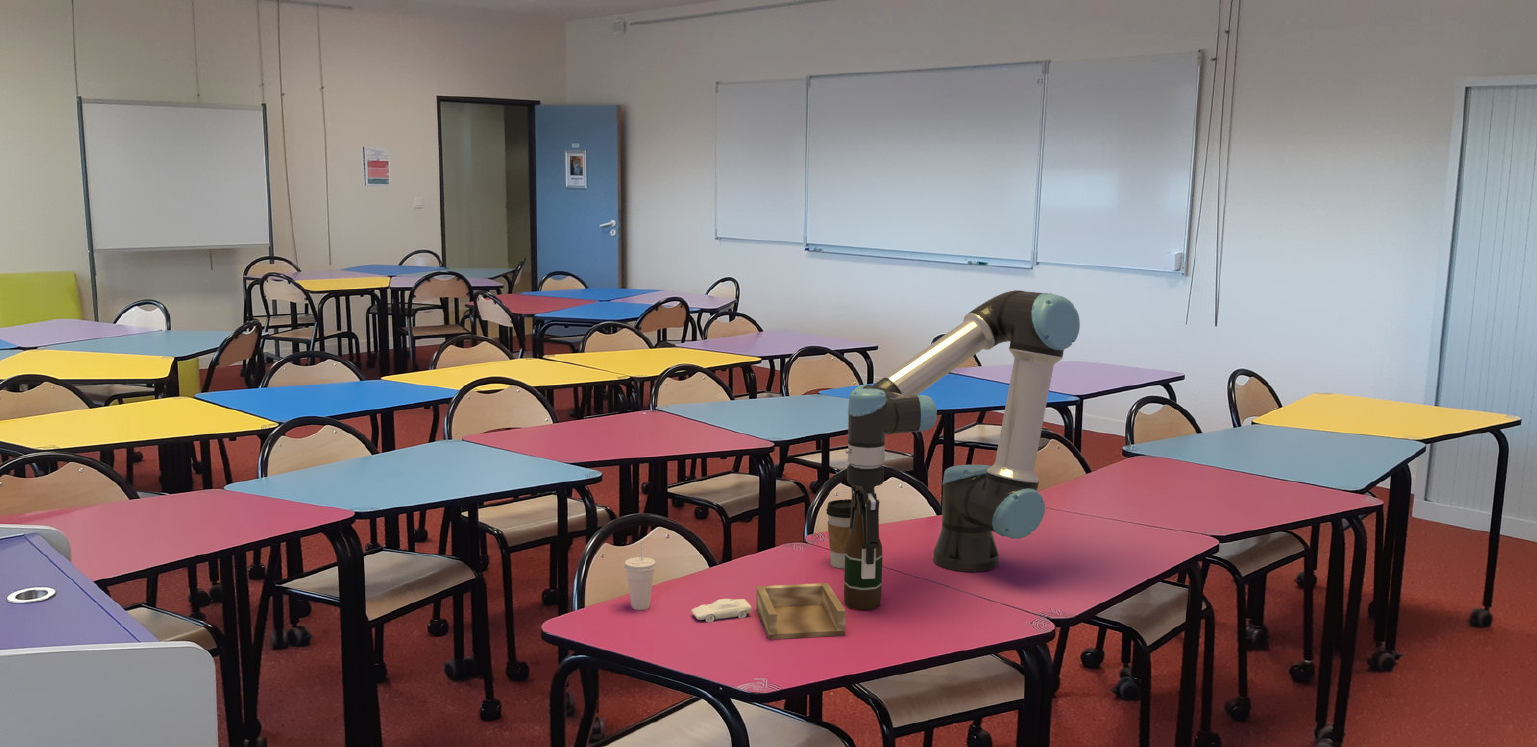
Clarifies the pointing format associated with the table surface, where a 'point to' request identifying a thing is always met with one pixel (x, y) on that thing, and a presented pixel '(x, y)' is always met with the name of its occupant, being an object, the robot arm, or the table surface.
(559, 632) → the table surface
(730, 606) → the toy car
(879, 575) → the beer bottle
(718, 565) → the table surface
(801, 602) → the u rest
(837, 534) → the coffee cup
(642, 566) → the smoothie
